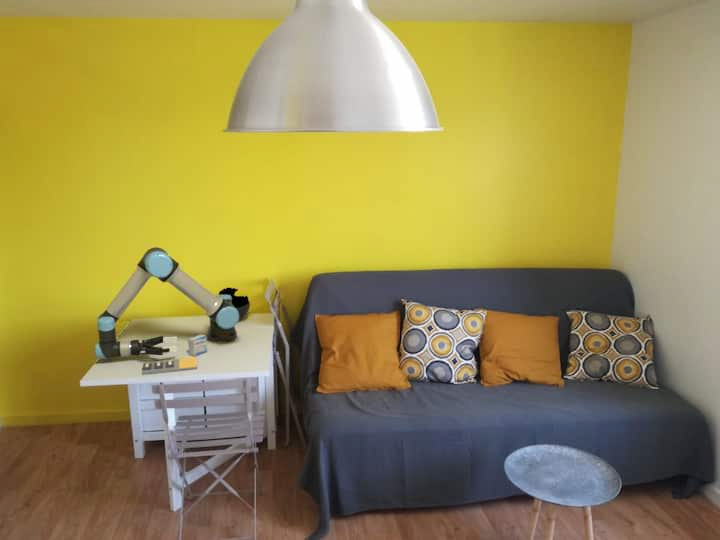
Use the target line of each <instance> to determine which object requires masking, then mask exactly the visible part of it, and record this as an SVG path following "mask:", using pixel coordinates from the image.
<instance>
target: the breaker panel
mask: <svg viewBox="0 0 720 540" xmlns="http://www.w3.org/2000/svg"><path fill="white" fill-rule="evenodd" d="M194 370H198V360H197V356H196V357H195V356H192V357H191V356H190V357H183V358H182V357H181V358H176V359H174V358H173V359H164V360H155V361H145V362H143V364H142V370H141V371H142V372H141V375H142V374H143V375H142V376H145V375H144V374H148V375H156V374H165V373H174V372H175V373H176V372H183V371H184V372H185V371H194Z"/></svg>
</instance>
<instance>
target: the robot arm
mask: <svg viewBox="0 0 720 540" xmlns="http://www.w3.org/2000/svg"><path fill="white" fill-rule="evenodd" d="M136 267H137V268H136V269H135V270H134V272H133V273H131V276H130V277H129V278H128V279H127V281H126V282H125V284H124V285H123V286H122V287H121V289H120V290H119V292H117V294H116V296H115V297H114V298H113V299H112V300H111V301H110V304H108V306H107V307H106V308H105V310H104V312H102V313H100V315H99V316H98V318H97V321H96V323H97V324H96V325H97V333H98V343H96V344H95V345H94V355H95V358H97V359H98V360H103V359H107V360H108V359H115V358H122V357H123V358H127V357H130V356H132V357H134V356H135V357H136V356H140V355H153V356H163V355H164V354H166V353H167V354H168V353H177V352H178V345H171V346H170V345H169V346H162V347H158V346H157V345H159V344H171V343H178V337H177V335H176V336H168V337H167V336H166V337H165V336H163V335H160V336H156V337H151V338H148V339H142V340H141V342H140V340H139V339H132V340H128V339H127V340H120V341H117V334H116V333H117V332H116V323H117V322H118V320H120V318H121V316H122V315H123V314H124V312H125V311H126V310H127V308H128V307H129V306H130V304H131V303H132V302H133V301H134V299H135V298H136V297H137V295H138V294H139V293H140V291H141V290H142V289H143V287H144V286H145V285H146V283H147V282H148V281H149V279H150V278H151V277H154V278H156V279H157V280H158V281H160V282H162V283H168V284H170V285H171V286H172V287H174V288H175V289H176V290H177V291H179V292H180V293H182V294H183V295H184V296H186V297H187V298H188V299H189V300H191V301H192V302H194V304H195V305H197V306H199V307H200V308H202V309H203V310H204V311H205V313H206V316H207V317H208V318H209V328H208V331H207V335H206V337H207V341H209V340H210V341H209V342H212V341H213V342H212V343H225V342H224V341H227V342H230V341H229V340H231V341H233V340H232V339H234V338H235V339H237V337H238V332H237V330H236V326H237V324H238V323H239V321H240V320H239V313H238V310H237V309H236V308H235V307H234V306H233V305H232V298H231V296H230V295H219V294H215V295H214V293H212V291H210V290H208V289H207V288H206V287H204V286H203V285H202V284H201V283H199V282H198V281H197V280H195V279H194V278H193V277H191V275H190V274H187V272H185V271H184V270H183V269H181V268H180V263H179V262H178V261H176V260H175V259H173V258H172V257H171V256H170V255H169V254H168V253H167V250H164V249H163V248H161V247H157V246H156V247H151V248H149V249H148V250H146V252H145V253H144V254H143V256H142V258H141V259H140V260H139V261H138V263H137V264H136ZM235 339H234V340H235Z"/></svg>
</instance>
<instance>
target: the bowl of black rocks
mask: <svg viewBox="0 0 720 540" xmlns="http://www.w3.org/2000/svg"><path fill="white" fill-rule="evenodd" d="M238 291H239V289H238V288H235V287H233V288H232V286H231V287H226V288H225V287H224V288H223V289H222V290H220V291H219V292H218V295H230V296H231V298H232V305H233V306H234V307H235V308H236V309H237V310H238V313H239V321H240V320H241V319H243V318H244V317H245V316H246V315H247V314H248V312H249V310H250V307H251V302H250V301H249V296H248V295H245V296H244V295H235V294H236V293H237V292H238Z"/></svg>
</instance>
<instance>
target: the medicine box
mask: <svg viewBox="0 0 720 540" xmlns="http://www.w3.org/2000/svg"><path fill="white" fill-rule="evenodd" d="M187 341H188V342H187V344H188V356H191V355H192V357H195V356H196V357H198V356H201V355H203V354H205V353H208V346H207V345H208V344H207V335H205V334H201V333H199V334H198V335H195V336H192V337H189V338H188V339H187ZM200 354H201V355H200Z"/></svg>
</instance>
